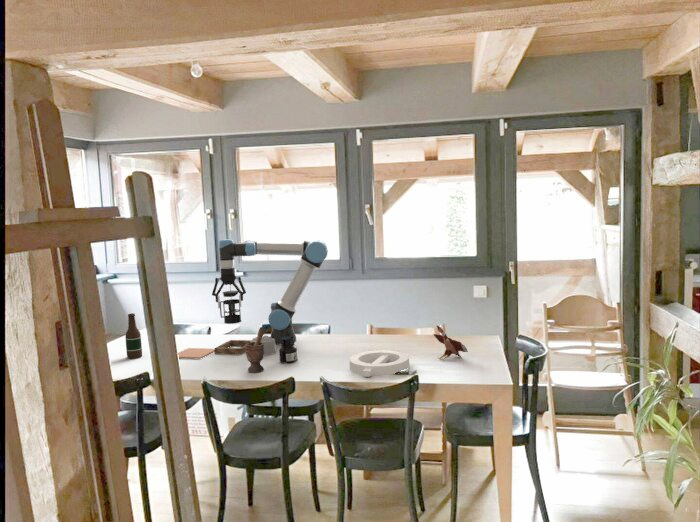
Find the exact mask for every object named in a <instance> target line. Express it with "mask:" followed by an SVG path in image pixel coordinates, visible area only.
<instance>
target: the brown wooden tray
mask: <svg viewBox="0 0 700 522" xmlns="http://www.w3.org/2000/svg"><path fill="white" fill-rule="evenodd" d="M251 340H252V339H251ZM251 340H250V339H248V340H247V339H243V340H242V339H230V340H228V341H226V342H224V343H222V344H221V345H218V346H216V347H215V348H214V349H215V352H214V354H215V353H224V354H223V355H243V354H246V348H245V344H247V343H250V341H251ZM232 345H237V346H236V347H233V346H232ZM230 346H231V347H230ZM228 347H229V348H228Z"/></svg>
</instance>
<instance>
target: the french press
mask: <svg viewBox="0 0 700 522" xmlns="http://www.w3.org/2000/svg"><path fill="white" fill-rule="evenodd" d="M227 282H230V281H227ZM231 286H232V284H231V285H229V289H230V290H226V291H222V294H223V297H224V298H230V299H225V300H222V301H221V300H220V308H219V311H220V313H219V314H220V315H219V316H220V318H222V319H223V318H224V320H223V324H227V325H233V324H238V323H241V322H242V318H241V317H242V315H241V307H240V303H239V299H238V298H237V299H236V298H234V297H236V296H237V295H238V294H239V292H238V291H237V290H232V287H231ZM232 298H234V299H232ZM237 304H238V307H239V308H238V309H237V308H236V305H237ZM222 305H223V306H222ZM225 305H227V306H228V309H227V310H226V309H225V308H226V307H225ZM222 307H223V313H222ZM237 313H239V314H237ZM226 314H228V315H226ZM222 315H223V316H222Z"/></svg>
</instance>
